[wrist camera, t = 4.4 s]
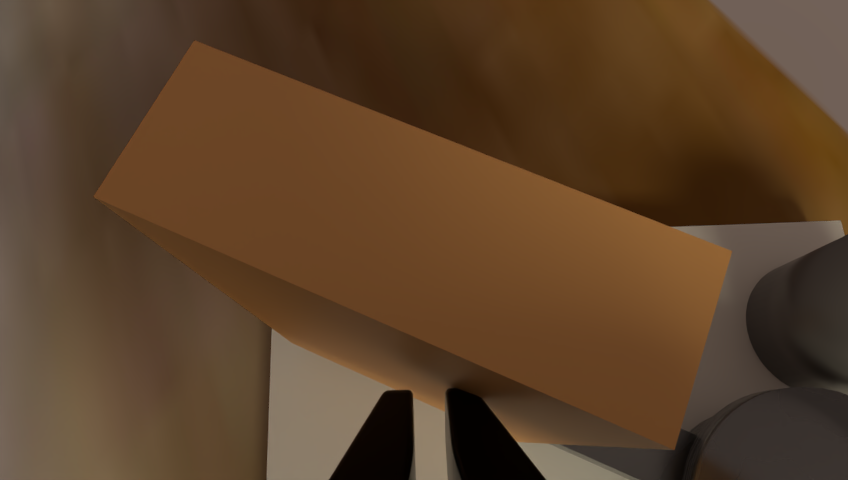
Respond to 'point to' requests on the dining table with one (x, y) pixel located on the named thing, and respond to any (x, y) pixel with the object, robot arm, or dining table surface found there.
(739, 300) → the base plate
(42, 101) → the dining table surface
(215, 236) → the brown piece
